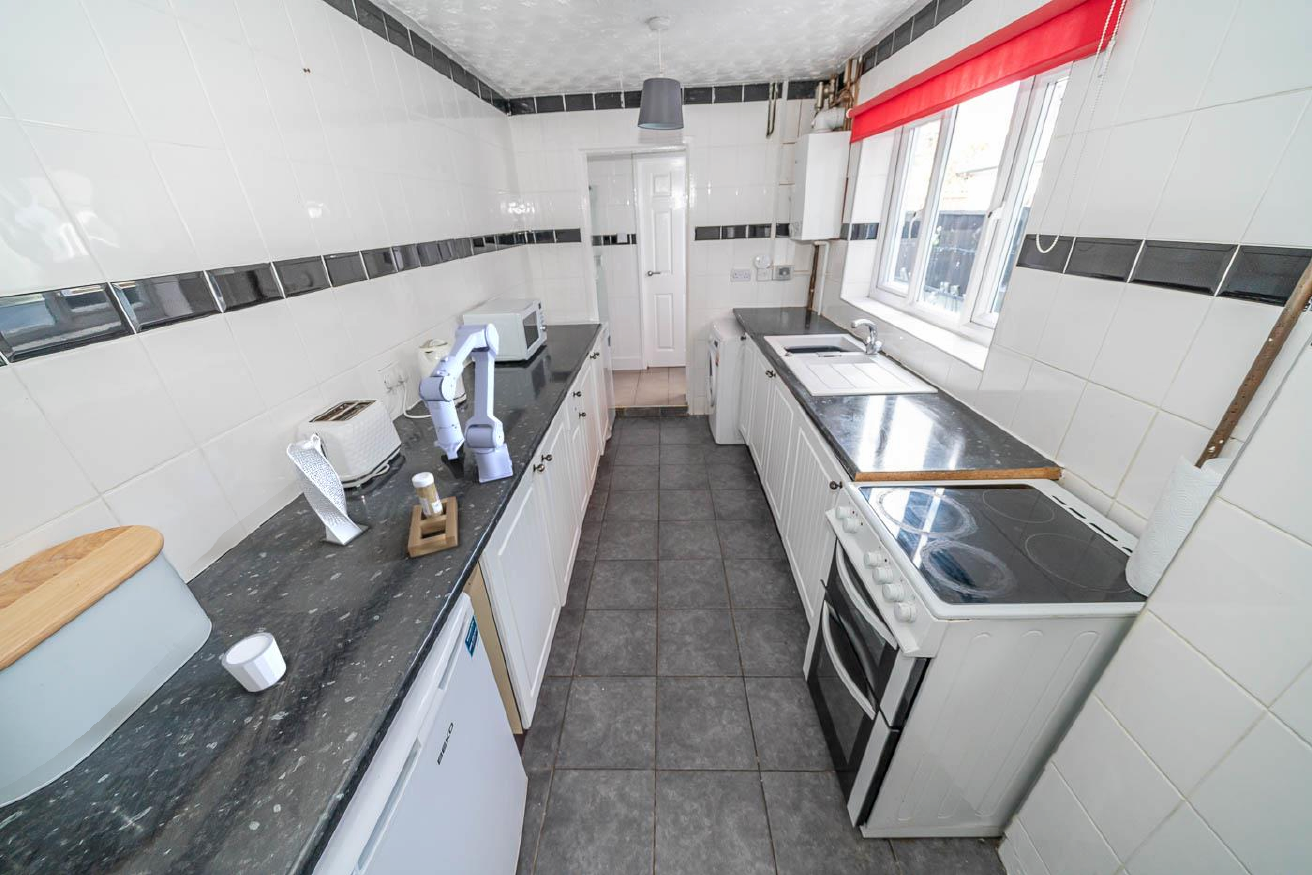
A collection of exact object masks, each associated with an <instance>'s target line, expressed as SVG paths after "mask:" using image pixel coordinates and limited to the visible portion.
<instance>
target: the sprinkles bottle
mask: <svg viewBox="0 0 1312 875" xmlns="http://www.w3.org/2000/svg"><path fill="white" fill-rule="evenodd" d="M411 481H412V485H413V487H414V488H415V490H416V493H417V494H416V495H417V498H418V500H419V503H420V504H421V506H422V509H423V512H424V514H425V516H426V517H425V520H426V519H430V518H434V517H438V516H443V515H445V512H443V509H442V505H441V502H440V500H441V499H440V496H439V493H438V491H437V487H436V485H435V481H434V476H433V474H432V472H429V471H423V472H420V473H417V474H415V475H414V476H413V477H412V478H411Z"/></svg>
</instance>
